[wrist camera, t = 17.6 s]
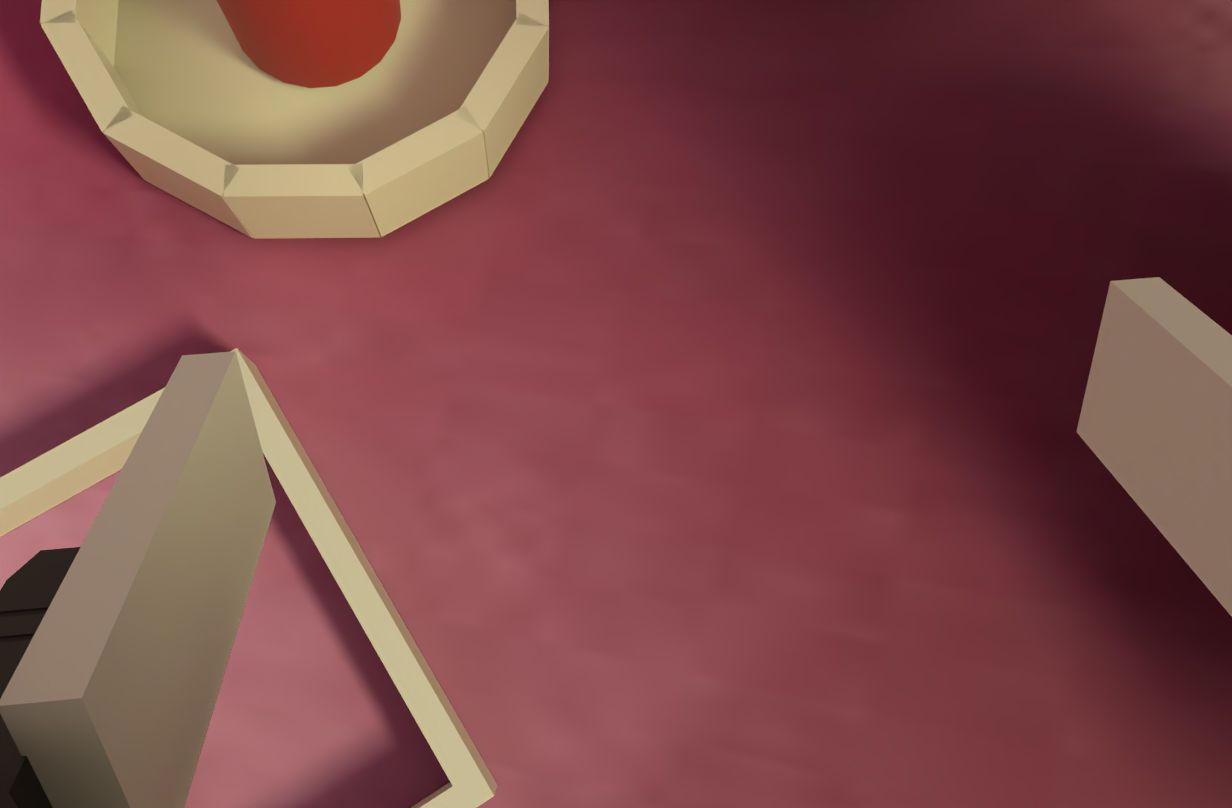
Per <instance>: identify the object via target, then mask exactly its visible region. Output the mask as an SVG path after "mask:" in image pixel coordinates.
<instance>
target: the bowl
mask: <svg viewBox="0 0 1232 808" xmlns="http://www.w3.org/2000/svg"><path fill="white" fill-rule="evenodd" d="M400 8H401V21H400V24H399V28H398V32H397V35H396V39H395V41H394V43H393V44H392V46H391V47H390V49H389V50H388V52H387V53H386V54H385V56H384V57H383V59H382V60H381V62H380V63H378V64H377V65H376V66H375V67H373V68H372V69H371V70H369V71H368V72H367V73H365V74H364V75H363V76H362V77H360V78H357V79H355V80H352V81H349V82H347V83H344V84H341V85H339V86H334V87H321V88H307V87H302V86H297V85H292V84H288V83H284V82H282V81H280V80H278V79H276V78H274V77H273V76H271V75H269V74H267V73H265V72H263V71H262V70H260V69H259V68H258V67H257V66H256V65H255V64H254V63H253V61H252V60H251V59H250V58H249V57H248V56H247V55H246V54H245V53H244V52H243V50H242V48H241V46H240V44H239V42H238V41H237V39H236V37H235V35H234V33H233V31H232V29H231V27H230V25H229V23H228V21H227V19H226V17H225V16H224V14H223V12H222V10H221V8H220V6H219V4H218V2H217V0H42V4H41V16H40V23H41V24H40V25H41V27H42V28H43V30H44V32H45V34H46V35H47V37H48V39H49V41H50V42H51V44H52V46H53V48H54V49H55V51H56V53H57V55H58V56H59V58H60V60H61V61H62V63H63V65H64V67H65V68H66V70H67V72H68V74H69V75H70V77H71V79H72V81H73V82H74V84H75V86H76V88H77V89H78V91H79V93H80V95H81V96H82V98H83V100H84V102H85V103H86V105H87V107H88V109H89V110H90V112H91V114H92V116H93V117H94V119H95V121H96V123H97V124H98V126H99V128H100V130H101V131H102V133H103V134H104V135H105V136H106V137H107V138H108V139H109V140H110V142H111V143H112V144H113V145H114V146H115V147H116V148H117V150H118V151H119V152H120V153H121V154H122V155H123V156H124V158H125V159H126V160H127V161H128V162H129V163H130V164H131V165H132V167H133V168H134V169H135V170H136V171H137V172H138V173H139V175H140V176H141V177H142V178H143V179H144V180H145V181H147V182H149V183H150V184H152V185H154V186H156V187H158V188H160V189H162V190H164V191H165V192H167V193H169V194H171V195H173V196H175V197H177V198H178V199H180V200H182V201H184V202H186V203H188V204H190V205H191V206H193V207H195V208H197V209H199V210H201V211H203V212H205V213H206V214H208V215H210V216H212V217H214V218H216V219H218V220H219V221H221V222H223V223H225V224H227V225H229V226H231V227H233V228H234V229H236V230H238V231H240V232H242V233H244V234H246V235H247V236H249V237H251V238H252V237H253V238H370V237H380V235H381V236H382V237H383V236H384V235H386V234H388V233H390V232H392V231H394V230H396V229H397V228H399V227H401V226H403V225H405V224H407V223H408V222H410V221H412V220H414V219H416V218H418V217H420V216H421V215H423V214H425V213H427V212H429V211H431V210H432V209H434V208H436V207H438V206H440V205H442V204H444V203H445V202H447V201H449V200H451V199H453V198H455V197H456V196H458V195H460V194H462V193H464V192H466V191H467V190H469V189H471V188H473V187H475V186H477V185H479V184H480V183H482V182H484V181H486V180H488V179H489V178H490V177H491V175H492V174H493V172H494V170H495V169H496V167H497V165H498V164H499V162H500V161H501V159H502V157H503V156H504V154H505V152H506V151H507V149H508V147H509V146H510V144H511V143H512V141H513V139H514V138H515V136H516V134H517V133H518V131H519V129H520V128H521V126H522V125H523V123H524V121H525V120H526V118H527V116H528V115H529V113H530V111H531V110H532V108H533V107H534V105H535V103H536V102H537V100H538V98H539V97H540V95H541V93H542V92H543V90H544V89H545V87H546V85H547V84H548V81H549V0H400ZM488 177H489V178H488Z"/></svg>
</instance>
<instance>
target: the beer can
mask: <svg viewBox="0 0 1232 808" xmlns="http://www.w3.org/2000/svg"><path fill="white" fill-rule="evenodd" d="M217 2H218V4H219V6H220V8H221V10H222V12H223V14H224V16H225V17H226V19H227V21H228V23H229V25H230V27H231V29H232V31H233V33H234V35H235V37H236V39H237V41H238V42H239V44H240V46H241V48H242V50H243V52H244V53H245V54H246V55H247V56H248V57H249V58H250V59H251V60H252V61H253V63H254V64H255V65H256V66H257V67H258V68H259V69H260V70H262V71H263V72H265V73H267V74H269V75H271V76H273V77H274V78H276V79H278V80H280V81H282V82H284V83H288V84H292V85H297V86H302V87H307V88H321V87H334V86H339V85H341V84H344V83H347V82H349V81H352V80H355V79H357V78H360V77H362V76H363V75H364V74H365V73H367V72H368V71H369V70H371V69H372V68H373V67H375V66H376V65H377V64H378V63H380V62H381V60H382V59H383V57H384V56H385V54H386V53H387V52H388V50H389V49H390V47H391V46H392V44H393V43H394V41H395V39H396V35H397V32H398V28H399V24H400V21H401V8H400V0H217Z"/></svg>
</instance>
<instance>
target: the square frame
mask: <svg viewBox="0 0 1232 808" xmlns="http://www.w3.org/2000/svg"><path fill="white" fill-rule="evenodd" d="M232 351H236V354H237V358H238V362H239V366H240V369H241V373H242V377H243V381H244V384H245V388H246V392H247V396H248V399H249V403H250V407H251V411H252V414H253V418H254V422H255V425H256V429H257V433H258V437H259V440H260V444H261V448H262V452H263V453H264V455H265V457H266V459H267V460H268V462H269V464H270V466H271V467H272V469H273V471H274V473H275V475H276V476H277V478H278V480H279V482H280V483H281V485H282V487H283V489H284V490H285V492H286V494H287V496H288V497H289V499H290V501H291V503H292V504H293V506H294V508H295V510H296V511H297V513H298V515H299V517H300V518H301V520H302V522H303V524H304V525H305V527H306V529H307V531H308V533H309V534H310V536H311V538H312V540H313V541H314V543H315V545H316V547H317V548H318V550H319V552H320V554H321V555H322V557H323V559H324V561H325V562H326V564H327V566H328V568H329V569H330V571H331V573H332V575H333V576H334V578H335V580H336V582H337V583H338V585H339V587H340V589H341V591H342V592H343V594H344V596H345V598H346V599H347V601H348V603H349V605H350V606H351V608H352V610H353V612H354V613H355V615H356V617H357V619H358V620H359V622H360V624H361V626H362V627H363V629H364V631H365V633H366V634H367V636H368V638H369V640H370V641H371V643H372V645H373V647H374V649H375V650H376V652H377V654H378V656H379V657H380V659H381V661H382V663H383V664H384V666H385V668H386V670H387V671H388V673H389V675H390V677H391V678H392V680H393V682H394V684H395V685H396V687H397V689H398V691H399V692H400V694H401V696H402V698H403V699H404V701H405V703H406V705H407V707H408V708H409V710H410V712H411V714H412V715H413V717H414V719H415V721H416V722H417V724H418V726H419V728H420V729H421V731H422V733H423V735H424V736H425V738H426V740H427V742H428V743H429V745H430V747H431V749H432V750H433V752H434V754H435V756H436V758H437V759H438V761H439V763H440V765H441V766H442V768H443V770H444V772H445V773H446V775H447V777H448V779H449V780H450V782H449V783H448V784H446V785H445V786H443V787H441V788H440V789H438V790H437V791H435V792H434V793H432V794H431V795H429V796H428V797H426V798H424V799H423V800H421V801H420V802H418V803H417V804H415V805H414V806H412V807H411V808H476V807H478V806H479V805H481V804H482V803H484V802H486V801H487V800H489V799H490V798H492V797H493V796H494V795H495V792H496V788H497V784H496V782H495V780H494V779H493V777H492V775H491V773H490V772H489V770H488V768H487V766H486V765H485V763H484V761H483V759H482V758H481V756H480V754H479V752H478V751H477V749H476V747H475V746H474V744H473V742H472V740H471V739H470V737H469V735H468V733H467V732H466V730H465V728H464V726H463V725H462V723H461V721H460V719H459V718H458V716H457V714H456V713H455V711H454V709H453V707H452V706H451V704H450V702H449V700H448V699H447V697H446V695H445V693H444V692H443V690H442V688H441V687H440V685H439V683H438V681H437V680H436V678H435V676H434V674H433V673H432V671H431V669H430V667H429V666H428V664H427V662H426V660H425V659H424V657H423V655H422V654H421V652H420V650H419V648H418V647H417V645H416V643H415V641H414V640H413V638H412V636H411V634H410V633H409V631H408V629H407V627H406V626H405V624H404V622H403V621H402V619H401V617H400V615H399V614H398V612H397V610H396V608H395V607H394V605H393V603H392V601H391V600H390V598H389V596H388V594H387V593H386V591H385V589H384V588H383V586H382V584H381V582H380V581H379V579H378V577H377V575H376V574H375V572H374V570H373V568H372V567H371V565H370V563H369V562H368V560H367V558H366V556H365V555H364V553H363V551H362V549H361V548H360V546H359V544H358V542H357V541H356V539H355V537H354V535H353V534H352V532H351V530H350V529H349V527H348V525H347V523H346V522H345V520H344V518H343V516H342V515H341V513H340V511H339V509H338V508H337V506H336V504H335V502H334V501H333V499H332V497H331V496H330V494H329V492H328V490H327V489H326V487H325V485H324V483H323V482H322V480H321V478H320V476H319V475H318V473H317V471H316V469H315V468H314V466H313V464H312V463H311V461H310V459H309V457H308V456H307V454H306V452H305V450H304V449H303V447H302V445H301V443H300V442H299V440H298V438H297V437H296V435H295V433H294V431H293V430H292V428H291V426H290V424H289V423H288V421H287V419H286V417H285V416H284V414H283V412H282V410H281V409H280V407H279V405H278V404H277V402H276V400H275V398H274V397H273V395H272V393H271V391H270V390H269V388H268V386H267V384H266V383H265V381H264V379H263V377H262V376H261V374H260V372H259V371H258V369H257V367H256V365H255V364H254V363H252V362H251V361H250V360H249V359H248V358H247V357H246V356H245V355H244V354H243V353H242V352H241V351H240V350H239V349H237V348H236V349H234V350H232ZM232 351H230V352H232ZM164 389H165V388H163V389H161V390H159V391H157V392H156V393H154V394H152V395H150V396H148V397H146V398H145V399H143V400H141V401H139V402H137V403H135V404H134V405H132V406H130V407H128V408H126V409H125V410H123V411H121V412H119V413H117V414H115V415H114V416H112V417H110V418H108V419H106V420H104V421H103V422H101V423H99V424H97V425H95V426H94V427H92V428H90V429H88V430H86V431H84V432H83V433H81V434H79V435H77V436H75V437H73V438H72V439H70V440H68V441H66V442H64V443H62V444H61V445H59V446H57V447H55V448H53V449H52V450H50V451H48V452H46V453H44V454H42V455H41V456H39V457H37V458H35V459H33V460H31V461H30V462H28V463H26V464H24V465H22V466H21V467H19V468H17V469H15V470H13V471H11V472H10V473H8V474H6V475H4V476H2V477H0V536H2V535H4V534H6V533H8V532H9V531H11V530H13V529H15V528H17V527H18V526H20V525H22V524H24V523H26V522H27V521H29V520H31V519H33V518H35V517H36V516H38V515H40V514H42V513H43V512H45V511H47V510H49V509H51V508H52V507H54V506H56V505H58V504H60V503H61V502H63V501H65V500H67V499H69V498H70V497H72V496H74V495H76V494H78V493H79V492H81V491H83V490H85V489H86V488H88V487H90V486H92V485H94V484H95V483H97V482H99V481H101V480H103V479H104V478H106V477H108V476H110V475H112V474H113V473H115V472H117V471H119V470H121V469H122V468H123V466H124V464H125V462H126V461H127V459H128V457H129V455H130V453H131V451H132V449H133V447H134V445H135V444H136V442H137V440H138V438H139V436H140V434H141V432H142V430H143V428H144V427H145V425H146V423H147V421H148V419H149V417H150V415H151V413H152V411H153V410H154V408H155V406H156V404H157V402H158V400H159V398H160V396H161V394H162V393H163V391H164Z"/></svg>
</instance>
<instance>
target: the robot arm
mask: <svg viewBox="0 0 1232 808" xmlns="http://www.w3.org/2000/svg"><path fill="white" fill-rule="evenodd" d="M1076 432H1077V433H1078V434H1079V436H1080V437H1081V438H1082V439H1083V440H1084V442H1085V443H1086V444H1087V445H1088V446H1089V448H1090V449H1091V450H1092V451H1093V452H1094V453H1095V455H1096V456H1097V457H1098V458H1099V459H1100V461H1101V462H1102V463H1103V464H1104V465H1105V467H1106V468H1107V469H1108V470H1109V471H1110V473H1111V474H1112V475H1113V476H1114V477H1115V478H1116V480H1117V481H1118V482H1119V483H1120V484H1121V486H1122V487H1123V488H1124V489H1125V490H1126V492H1127V493H1128V494H1129V495H1130V496H1131V498H1132V499H1133V500H1134V501H1135V502H1136V503H1137V505H1138V506H1139V507H1140V508H1141V509H1142V511H1143V512H1144V513H1145V514H1146V515H1147V517H1148V518H1149V519H1150V520H1151V521H1152V522H1153V524H1154V525H1155V526H1156V527H1157V528H1158V530H1159V531H1160V532H1161V533H1162V534H1163V536H1164V537H1165V538H1166V539H1167V540H1168V542H1169V543H1170V544H1171V545H1172V546H1173V547H1174V549H1175V550H1176V551H1177V552H1178V553H1179V555H1180V556H1181V557H1182V558H1183V559H1184V561H1185V562H1186V563H1187V564H1188V565H1189V567H1190V568H1191V569H1192V570H1193V571H1194V572H1195V574H1196V575H1197V576H1198V577H1199V578H1200V580H1201V581H1202V582H1203V583H1204V584H1205V586H1206V587H1207V588H1208V589H1209V590H1210V591H1211V593H1212V594H1213V595H1214V596H1215V597H1216V599H1217V600H1218V601H1219V602H1220V603H1221V605H1222V606H1223V607H1224V608H1225V609H1226V611H1227V612H1228V613H1229V614H1230V615H1231V616H1232V335H1230V334H1229V333H1228V332H1227V331H1226V330H1224V329H1223V328H1222V327H1221V326H1219V325H1218V324H1217V323H1216V322H1214V321H1213V320H1212V319H1211V318H1209V317H1208V316H1207V315H1206V314H1204V313H1203V312H1202V311H1201V310H1199V309H1198V308H1197V307H1196V306H1194V305H1193V304H1192V303H1191V302H1189V301H1188V300H1187V299H1186V298H1184V297H1183V296H1182V295H1181V294H1179V293H1178V292H1177V291H1176V290H1175V289H1173V288H1172V287H1171V286H1170V285H1168V284H1167V283H1166V282H1165V281H1163V280H1162V279H1161V278H1160V277H1154V278H1142V279H1129V280H1117V281H1110V285H1109V290H1108V294H1107V298H1106V303H1105V307H1104V312H1103V316H1102V321H1101V325H1100V329H1099V334H1098V338H1097V343H1096V347H1095V352H1094V356H1093V360H1092V365H1091V369H1090V374H1089V378H1088V383H1087V387H1086V391H1085V396H1084V400H1083V405H1082V409H1081V414H1080V418H1079V422H1078V427H1077V431H1076ZM275 504H276V500H275V497H274V493H273V489H272V485H271V482H270V478H269V474H268V470H267V467H266V463H265V459H264V455H263V452H262V448H261V444H260V440H259V437H258V433H257V429H256V425H255V422H254V418H253V414H252V411H251V407H250V403H249V399H248V396H247V392H246V388H245V384H244V381H243V377H242V373H241V369H240V366H239V362H238V358H237V354H236V351H232V352H219V353H207V354H194V355H182V357H181V358H180V360H179V362H178V364H177V366H176V368H175V370H174V372H173V374H172V376H171V377H170V379H169V381H168V383H167V385H166V387H165V389H164V391H163V393H162V394H161V396H160V398H159V400H158V402H157V404H156V406H155V408H154V410H153V411H152V413H151V415H150V417H149V419H148V421H147V423H146V425H145V427H144V428H143V430H142V432H141V434H140V436H139V438H138V440H137V442H136V444H135V445H134V447H133V449H132V451H131V453H130V455H129V457H128V459H127V461H126V462H125V464H124V466H123V468H122V470H121V472H120V474H119V476H118V478H117V479H116V481H115V483H114V485H113V487H112V489H111V491H110V493H109V495H108V496H107V498H106V500H105V502H104V504H103V506H102V508H101V510H100V512H99V513H98V515H97V517H96V519H95V521H94V523H93V525H92V527H91V529H90V530H89V532H88V534H87V536H86V538H85V540H84V542H83V544H82V546H81V547H76V548H64V549H53V550H42V551H40V552H39V553H37V554H36V555H35V556H34V557H33V558H32V559H31V560H29V561H28V562H27V563H26V564H25V565H24V566H23V567H21V568H20V569H19V570H18V571H17V572H16V573H14V574H13V575H12V576H11V577H10V578H9V579H8V580H6V582H5V584H4V585H3V587H2V589H1V590H0V808H184V806H185V803H186V800H187V796H188V793H189V790H190V786H191V783H192V780H193V777H194V773H195V770H196V767H197V763H198V760H199V757H200V753H201V750H202V747H203V743H204V740H205V737H206V733H207V730H208V727H209V723H210V720H211V717H212V713H213V710H214V707H215V703H216V700H217V697H218V693H219V690H220V687H221V684H222V680H223V677H224V674H225V670H226V667H227V664H228V660H229V657H230V654H231V650H232V647H233V644H234V640H235V637H236V634H237V630H238V627H239V624H240V620H241V617H242V614H243V610H244V607H245V604H246V601H247V597H248V594H249V591H250V587H251V584H252V581H253V577H254V574H255V571H256V567H257V564H258V561H259V557H260V554H261V551H262V547H263V544H264V541H265V537H266V534H267V531H268V527H269V524H270V521H271V517H272V514H273V511H274V508H275Z"/></svg>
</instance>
